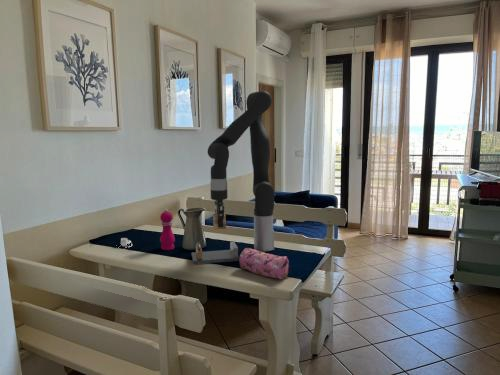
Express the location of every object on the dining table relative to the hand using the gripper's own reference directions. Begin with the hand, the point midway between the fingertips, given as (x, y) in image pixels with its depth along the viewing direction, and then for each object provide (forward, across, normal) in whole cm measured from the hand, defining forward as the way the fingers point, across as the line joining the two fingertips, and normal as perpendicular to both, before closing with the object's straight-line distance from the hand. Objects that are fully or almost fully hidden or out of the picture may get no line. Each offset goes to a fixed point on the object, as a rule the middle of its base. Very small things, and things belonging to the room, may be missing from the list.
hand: (219, 225), depth 166 cm
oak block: (+1, 0, 0) cm, 1 cm away
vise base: (+15, 0, +3) cm, 15 cm away
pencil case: (+16, -22, -15) cm, 31 cm away
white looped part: (+16, +30, +42) cm, 54 cm away
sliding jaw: (+13, 0, +10) cm, 16 cm away
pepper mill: (+15, +20, +24) cm, 35 cm away
